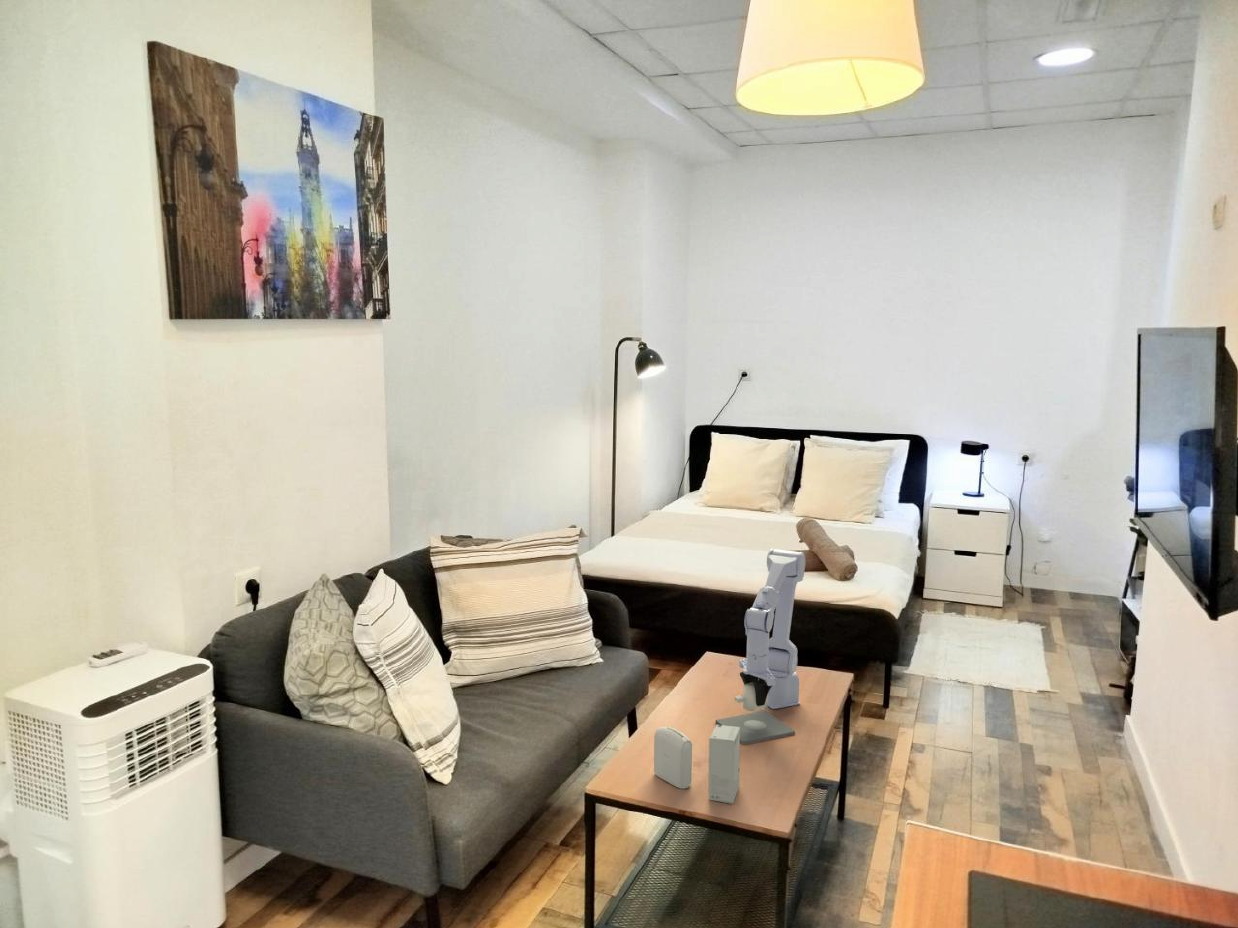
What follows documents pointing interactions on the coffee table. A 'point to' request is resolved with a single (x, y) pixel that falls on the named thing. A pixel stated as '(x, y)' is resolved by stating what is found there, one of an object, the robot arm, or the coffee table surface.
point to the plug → (750, 699)
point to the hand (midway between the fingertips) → (755, 701)
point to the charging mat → (757, 726)
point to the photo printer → (673, 757)
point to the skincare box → (724, 763)
